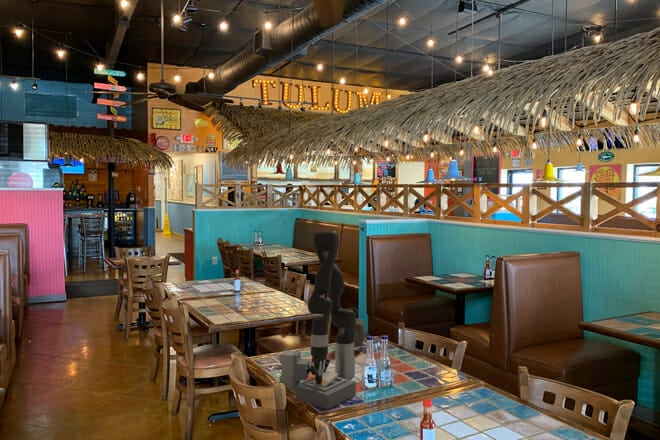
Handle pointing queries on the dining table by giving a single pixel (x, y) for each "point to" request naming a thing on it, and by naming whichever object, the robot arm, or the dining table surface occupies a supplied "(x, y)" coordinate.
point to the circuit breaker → (293, 368)
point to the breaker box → (326, 392)
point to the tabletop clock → (357, 331)
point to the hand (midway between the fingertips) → (318, 383)
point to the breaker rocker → (327, 378)
